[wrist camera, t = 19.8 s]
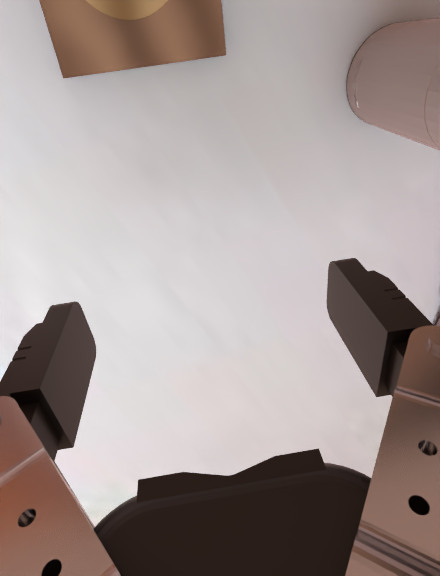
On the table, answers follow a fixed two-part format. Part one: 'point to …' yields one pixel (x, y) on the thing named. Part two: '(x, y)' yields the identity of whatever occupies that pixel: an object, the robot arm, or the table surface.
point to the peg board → (132, 33)
